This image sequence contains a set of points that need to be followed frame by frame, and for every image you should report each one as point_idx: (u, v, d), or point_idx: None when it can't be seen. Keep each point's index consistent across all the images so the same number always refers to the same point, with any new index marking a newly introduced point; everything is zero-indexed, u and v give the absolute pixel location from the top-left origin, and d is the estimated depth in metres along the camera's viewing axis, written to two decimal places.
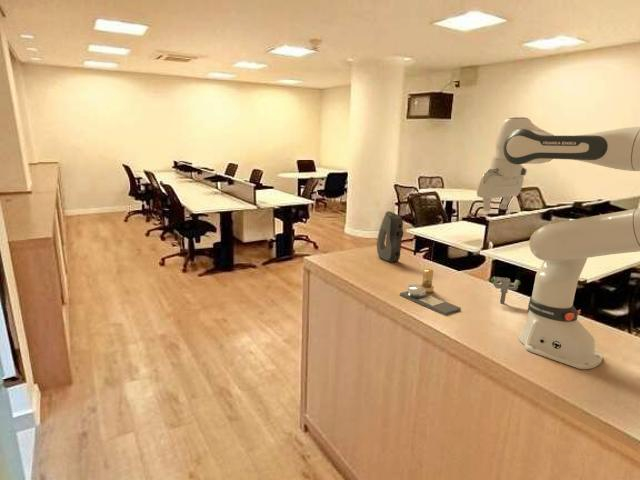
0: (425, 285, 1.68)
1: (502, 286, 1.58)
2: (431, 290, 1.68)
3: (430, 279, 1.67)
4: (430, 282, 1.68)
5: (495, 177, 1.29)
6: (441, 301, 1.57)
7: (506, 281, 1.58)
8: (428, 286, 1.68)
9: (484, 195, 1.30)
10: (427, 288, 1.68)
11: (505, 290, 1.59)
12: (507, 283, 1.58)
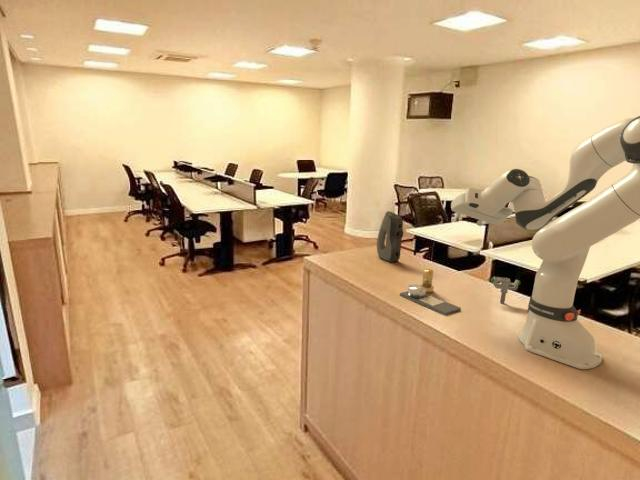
0: (425, 285, 1.68)
1: (502, 286, 1.58)
2: (431, 290, 1.68)
3: (430, 279, 1.67)
4: (430, 282, 1.68)
5: None
6: (441, 301, 1.57)
7: (506, 281, 1.58)
8: (428, 286, 1.68)
9: None
10: (427, 288, 1.68)
11: (505, 290, 1.59)
12: (507, 283, 1.58)
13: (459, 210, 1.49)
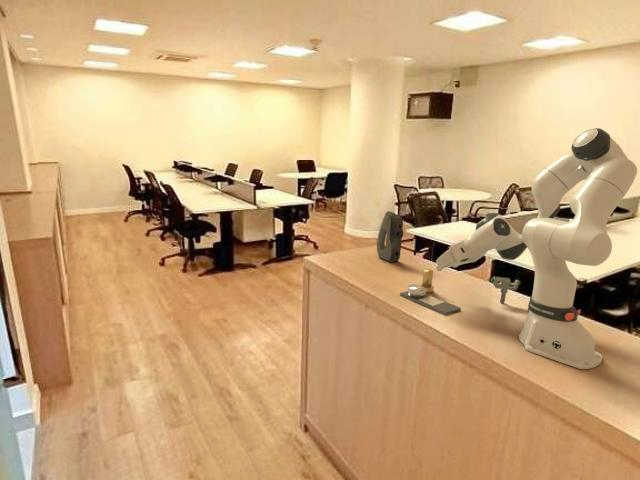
0: (425, 285, 1.68)
1: (502, 286, 1.58)
2: (431, 290, 1.68)
3: (430, 279, 1.67)
4: (430, 282, 1.68)
5: None
6: (441, 301, 1.57)
7: (506, 281, 1.58)
8: (428, 286, 1.68)
9: None
10: (427, 288, 1.68)
11: (505, 290, 1.59)
12: (507, 283, 1.58)
13: (447, 266, 1.53)
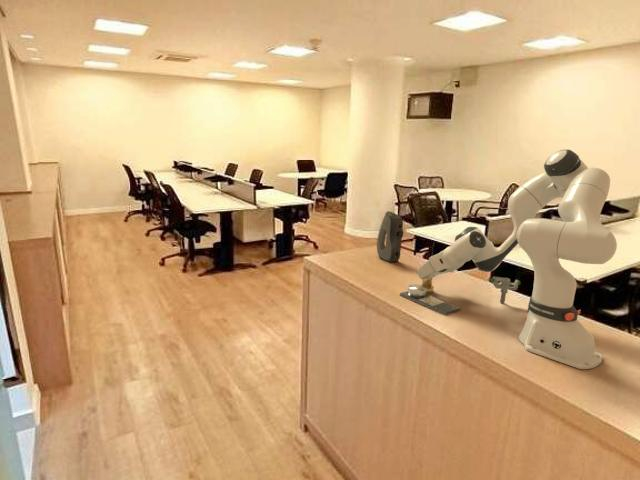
0: (425, 285, 1.68)
1: (502, 286, 1.58)
2: (431, 290, 1.68)
3: (430, 279, 1.67)
4: (430, 282, 1.68)
5: None
6: (441, 301, 1.57)
7: (506, 281, 1.58)
8: (428, 286, 1.68)
9: None
10: (427, 288, 1.68)
11: (505, 290, 1.59)
12: (507, 283, 1.58)
13: (427, 276, 1.60)
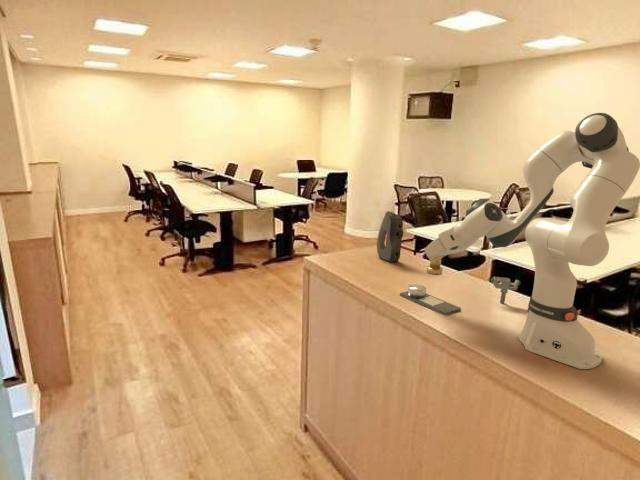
0: (433, 266, 1.52)
1: (502, 286, 1.58)
2: (440, 271, 1.52)
3: (439, 259, 1.52)
4: (438, 262, 1.52)
5: None
6: (441, 301, 1.57)
7: (506, 281, 1.58)
8: (437, 267, 1.52)
9: None
10: (436, 269, 1.52)
11: (505, 290, 1.59)
12: (507, 283, 1.58)
13: (436, 255, 1.44)
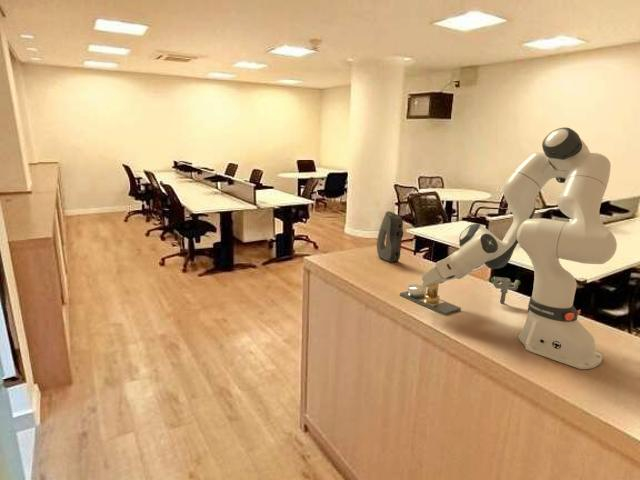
0: (430, 294, 1.55)
1: (502, 286, 1.58)
2: (437, 300, 1.55)
3: (436, 288, 1.54)
4: (435, 291, 1.54)
5: None
6: (441, 301, 1.57)
7: (506, 281, 1.58)
8: (434, 295, 1.55)
9: None
10: (432, 298, 1.55)
11: (505, 290, 1.59)
12: (507, 283, 1.58)
13: (433, 283, 1.46)
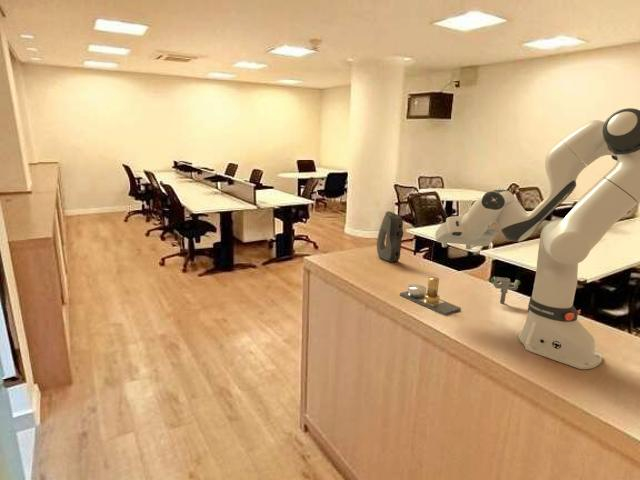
0: (430, 294, 1.55)
1: (502, 286, 1.58)
2: (437, 300, 1.55)
3: (436, 288, 1.54)
4: (435, 291, 1.54)
5: None
6: (441, 301, 1.57)
7: (506, 281, 1.58)
8: (433, 295, 1.55)
9: None
10: (432, 298, 1.55)
11: (505, 290, 1.59)
12: (507, 283, 1.58)
13: (444, 240, 1.48)
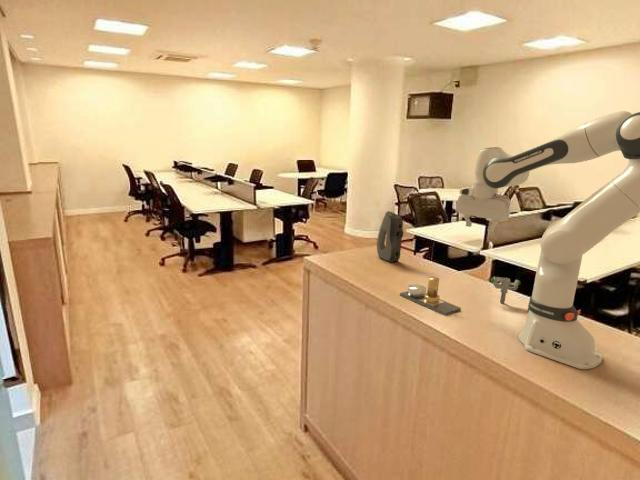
0: (430, 294, 1.55)
1: (502, 286, 1.58)
2: (437, 300, 1.55)
3: (436, 288, 1.54)
4: (435, 291, 1.54)
5: None
6: (441, 301, 1.57)
7: (506, 281, 1.58)
8: (433, 295, 1.55)
9: (508, 218, 1.46)
10: (432, 298, 1.55)
11: (505, 290, 1.59)
12: (507, 283, 1.58)
13: (462, 208, 1.58)
